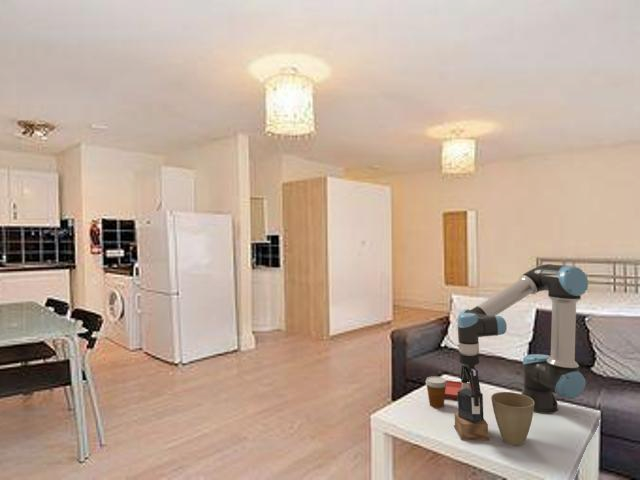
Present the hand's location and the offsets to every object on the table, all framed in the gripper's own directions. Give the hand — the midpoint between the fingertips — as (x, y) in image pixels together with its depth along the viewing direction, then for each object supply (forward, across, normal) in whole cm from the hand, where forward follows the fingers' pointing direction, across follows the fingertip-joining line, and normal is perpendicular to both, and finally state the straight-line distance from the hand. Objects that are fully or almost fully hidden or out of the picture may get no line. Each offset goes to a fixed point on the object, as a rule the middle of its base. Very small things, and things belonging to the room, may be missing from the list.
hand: (470, 406), depth 159 cm
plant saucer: (+12, -40, +4) cm, 42 cm away
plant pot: (+11, +6, +14) cm, 19 cm away
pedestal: (+11, 0, 0) cm, 11 cm away
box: (+5, 0, 0) cm, 5 cm away
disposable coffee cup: (+11, -26, -8) cm, 29 cm away
